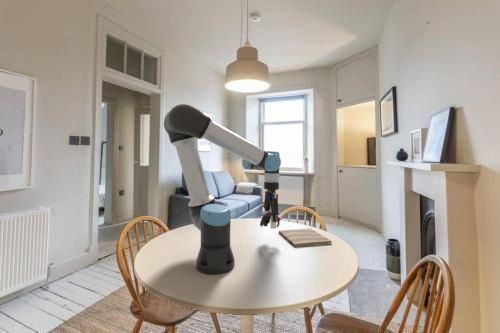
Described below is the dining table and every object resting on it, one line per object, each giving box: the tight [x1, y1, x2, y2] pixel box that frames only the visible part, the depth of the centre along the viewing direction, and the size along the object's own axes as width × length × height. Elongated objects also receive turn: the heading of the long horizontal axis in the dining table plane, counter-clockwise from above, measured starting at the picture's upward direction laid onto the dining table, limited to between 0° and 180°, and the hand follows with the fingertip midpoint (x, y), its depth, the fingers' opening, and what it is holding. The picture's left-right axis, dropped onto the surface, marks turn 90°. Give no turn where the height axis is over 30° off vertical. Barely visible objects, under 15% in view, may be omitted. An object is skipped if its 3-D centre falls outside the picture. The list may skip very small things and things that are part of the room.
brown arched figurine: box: [259, 211, 282, 229], centre depth 120 cm, size 12×10×8 cm
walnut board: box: [278, 228, 332, 248], centre depth 128 cm, size 22×20×2 cm
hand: (270, 225), depth 121 cm, fingers closed on brown arched figurine, 9 cm apart
